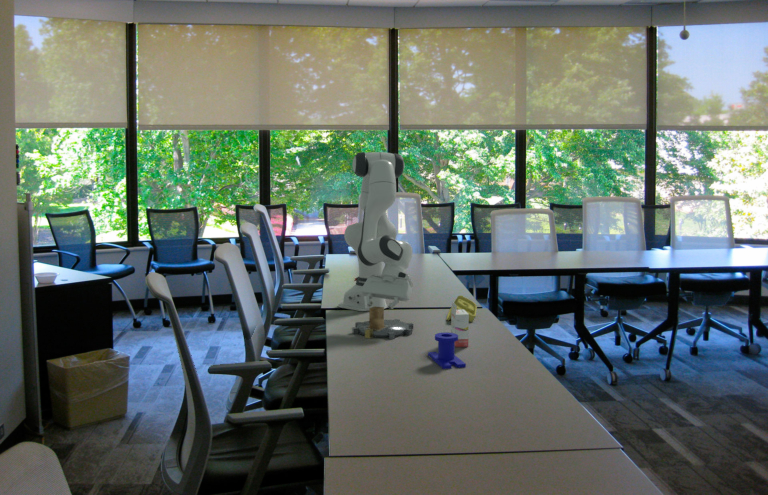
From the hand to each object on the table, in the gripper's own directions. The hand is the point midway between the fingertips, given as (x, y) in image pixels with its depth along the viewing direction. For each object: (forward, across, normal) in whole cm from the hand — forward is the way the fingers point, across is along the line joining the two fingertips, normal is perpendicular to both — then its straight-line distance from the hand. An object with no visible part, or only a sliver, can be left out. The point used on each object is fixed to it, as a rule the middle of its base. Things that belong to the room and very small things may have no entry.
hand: (379, 306), depth 237 cm
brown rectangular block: (+8, +1, +3) cm, 8 cm away
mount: (+22, +38, -9) cm, 45 cm away
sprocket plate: (+6, +1, +8) cm, 10 cm away
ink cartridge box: (+8, +34, +6) cm, 35 cm away
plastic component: (-20, +19, +34) cm, 44 cm away
